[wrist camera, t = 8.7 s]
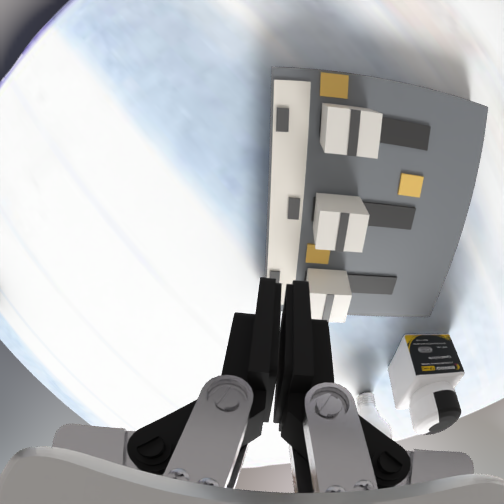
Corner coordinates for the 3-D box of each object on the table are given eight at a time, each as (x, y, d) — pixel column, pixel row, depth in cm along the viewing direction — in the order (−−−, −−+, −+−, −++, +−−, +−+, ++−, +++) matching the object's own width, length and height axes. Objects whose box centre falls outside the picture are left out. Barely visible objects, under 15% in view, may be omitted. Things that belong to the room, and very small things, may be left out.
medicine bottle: (449, 332, 34) (477, 406, 24) (429, 366, 38) (448, 436, 27) (403, 332, 34) (426, 414, 24) (386, 368, 38) (400, 443, 28)
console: (470, 102, 20) (490, 107, 17) (421, 299, 32) (430, 319, 29) (273, 68, 22) (271, 66, 19) (265, 291, 33) (263, 312, 30)
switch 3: (346, 270, 27) (352, 296, 24) (340, 296, 28) (344, 323, 25) (307, 268, 27) (309, 293, 24) (304, 294, 29) (304, 321, 26)
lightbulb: (340, 388, 41) (344, 454, 32) (382, 377, 39) (392, 444, 30) (349, 407, 44) (352, 467, 35) (387, 397, 42) (396, 458, 33)
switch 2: (359, 196, 23) (369, 215, 20) (354, 230, 25) (362, 253, 22) (316, 192, 24) (320, 211, 21) (312, 227, 25) (315, 249, 22)
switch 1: (369, 108, 20) (383, 114, 17) (365, 147, 21) (377, 159, 18) (322, 102, 20) (328, 106, 17) (319, 142, 22) (324, 153, 18)
